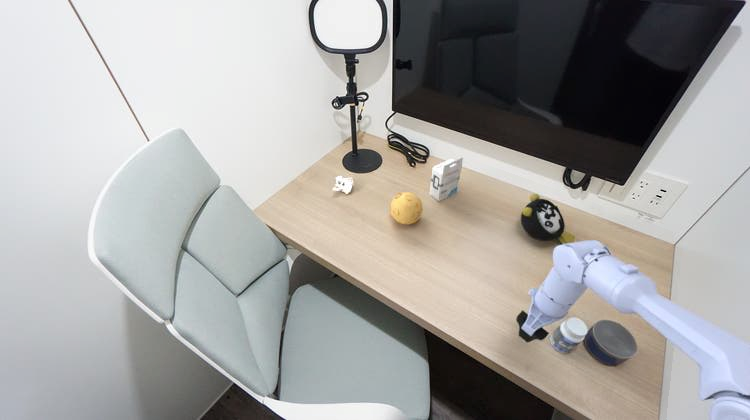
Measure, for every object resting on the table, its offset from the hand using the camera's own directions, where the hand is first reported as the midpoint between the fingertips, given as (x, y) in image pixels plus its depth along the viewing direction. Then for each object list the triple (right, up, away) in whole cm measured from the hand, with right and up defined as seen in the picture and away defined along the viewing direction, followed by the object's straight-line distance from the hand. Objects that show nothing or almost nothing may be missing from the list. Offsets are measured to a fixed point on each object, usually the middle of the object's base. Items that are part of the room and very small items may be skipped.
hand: (534, 326), depth 65 cm
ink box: (-10, +30, +43) cm, 53 cm away
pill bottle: (+9, -6, +6) cm, 12 cm away
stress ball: (-23, +21, +34) cm, 47 cm away
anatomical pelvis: (-44, +32, +46) cm, 71 cm away
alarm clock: (+16, +17, +29) cm, 37 cm away
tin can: (+18, -7, +5) cm, 19 cm away
